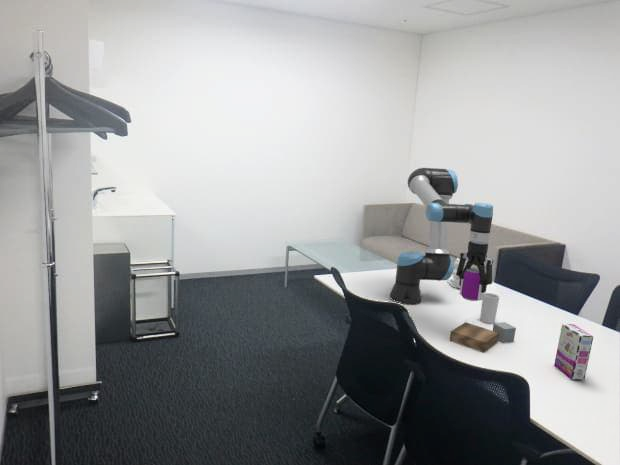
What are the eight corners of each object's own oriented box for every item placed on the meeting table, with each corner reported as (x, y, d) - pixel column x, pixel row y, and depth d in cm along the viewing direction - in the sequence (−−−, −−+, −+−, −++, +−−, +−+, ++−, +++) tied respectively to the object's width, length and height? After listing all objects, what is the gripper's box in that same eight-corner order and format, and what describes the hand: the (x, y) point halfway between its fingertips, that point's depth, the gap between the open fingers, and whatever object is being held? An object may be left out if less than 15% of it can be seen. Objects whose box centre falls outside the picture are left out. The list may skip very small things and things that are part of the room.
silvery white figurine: (444, 279, 278) (448, 249, 274) (461, 281, 278) (466, 250, 274) (455, 291, 258) (460, 258, 254) (474, 292, 259) (479, 259, 255)
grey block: (491, 337, 201) (493, 323, 199) (502, 335, 203) (504, 322, 202) (502, 343, 195) (504, 329, 194) (513, 341, 198) (516, 327, 197)
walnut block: (449, 340, 194) (451, 330, 193) (464, 331, 204) (465, 322, 204) (484, 352, 185) (485, 342, 184) (497, 342, 196) (499, 332, 195)
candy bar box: (585, 380, 169) (594, 336, 165) (571, 380, 168) (580, 336, 165) (566, 365, 179) (574, 323, 176) (553, 365, 179) (561, 323, 176)
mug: (497, 324, 215) (501, 298, 213) (481, 323, 215) (486, 297, 213) (490, 316, 225) (494, 291, 222) (475, 314, 225) (479, 289, 223)
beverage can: (481, 297, 201) (485, 269, 199) (479, 302, 194) (483, 273, 192) (462, 294, 204) (466, 266, 202) (459, 299, 197) (463, 270, 195)
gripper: (451, 237, 200) (444, 291, 204) (497, 248, 184) (488, 305, 189) (461, 236, 205) (454, 288, 209) (507, 246, 189) (499, 303, 193)
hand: (471, 296), depth 199 cm, fingers closed on beverage can, 8 cm apart
